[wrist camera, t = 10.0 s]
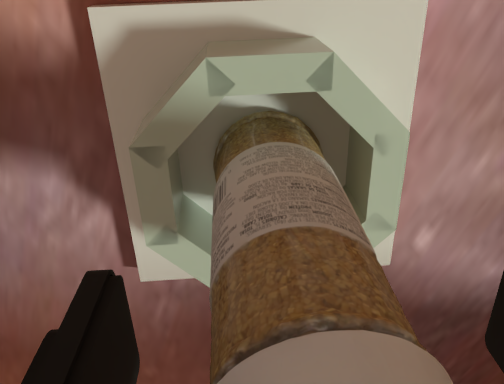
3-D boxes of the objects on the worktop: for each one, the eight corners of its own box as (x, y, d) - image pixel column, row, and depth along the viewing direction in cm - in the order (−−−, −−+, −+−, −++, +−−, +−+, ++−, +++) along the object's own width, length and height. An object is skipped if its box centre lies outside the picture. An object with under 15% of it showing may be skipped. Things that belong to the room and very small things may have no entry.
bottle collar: (383, 252, 22) (414, 308, 18) (144, 268, 21) (128, 329, 18) (417, -9, 16) (472, -1, 13) (94, 5, 16) (58, 16, 12)
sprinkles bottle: (293, 219, 19) (404, 623, 8) (196, 187, 18) (151, 599, 7) (340, 129, 18) (588, 481, 6) (236, 88, 16) (272, 416, 5)
